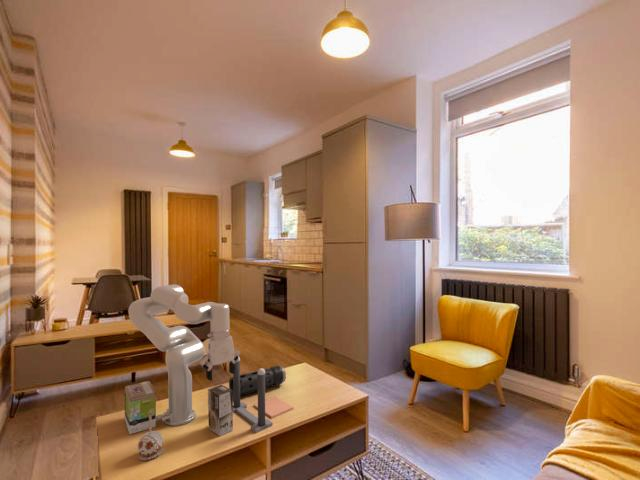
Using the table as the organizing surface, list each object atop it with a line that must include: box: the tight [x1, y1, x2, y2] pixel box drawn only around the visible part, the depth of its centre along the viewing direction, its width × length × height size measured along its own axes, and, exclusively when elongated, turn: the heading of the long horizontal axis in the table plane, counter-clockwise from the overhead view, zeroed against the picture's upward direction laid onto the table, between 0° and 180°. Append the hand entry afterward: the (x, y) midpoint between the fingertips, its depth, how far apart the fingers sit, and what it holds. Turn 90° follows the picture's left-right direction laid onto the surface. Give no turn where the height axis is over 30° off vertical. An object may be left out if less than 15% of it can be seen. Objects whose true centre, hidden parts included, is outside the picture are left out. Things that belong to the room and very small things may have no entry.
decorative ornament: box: [136, 413, 163, 461], centre depth 119 cm, size 8×8×15 cm
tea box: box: [124, 380, 157, 435], centre depth 141 cm, size 15×10×15 cm, turn 37°
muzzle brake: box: [228, 365, 287, 397], centre depth 171 cm, size 10×28×10 cm, turn 125°
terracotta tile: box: [253, 396, 295, 419], centre depth 153 cm, size 12×15×1 cm
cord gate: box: [232, 355, 274, 434], centre depth 144 cm, size 8×25×24 cm, turn 42°
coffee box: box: [207, 384, 234, 437], centre depth 136 cm, size 9×6×16 cm
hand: (220, 376), depth 136 cm, fingers open, 9 cm apart
